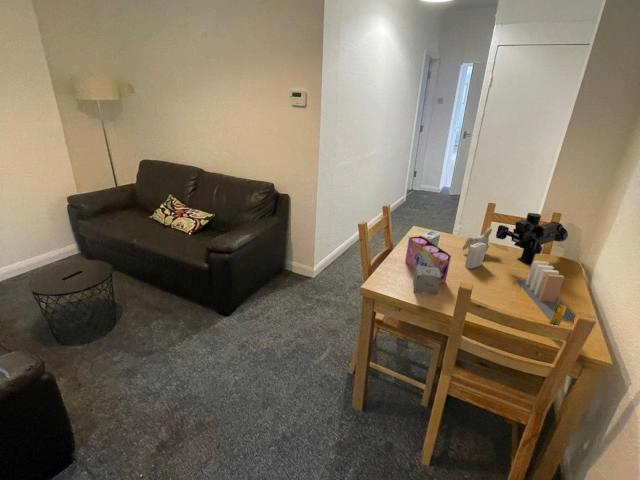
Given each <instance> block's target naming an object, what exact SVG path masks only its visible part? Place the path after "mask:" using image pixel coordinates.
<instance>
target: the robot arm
mask: <svg viewBox="0 0 640 480" xmlns="http://www.w3.org/2000/svg"><path fill="white" fill-rule="evenodd" d="M541 218H542V215H541V214H540V213H534V212H533V213H532V212H528V213H527V215H526V218H525V219H522V218H520V219H519V220H517V221H516V222H515V228H513V229H512V231H511V230H509V229H510V227H509V226H506V225H503V224H501V225H498V227H497V230H496V234H495V238H496V239H498V240H499V239H500V240H505V239H506V238H507V236H508V237H510V238H511V242H514V246H515V247H518V248H520V249H522V252H521V256H520V257H518V258H517V260H518V261H520V262H522V263H526V265H532V262H533V261H536V260H535V256H536V255H537V254H538V255H540V254H541V253H542V251H543V247H542V245H545V244H548V243H551V242H559V243H560V242H564V241H566V240H567V239H568V237H569V233H568V230H567V229H566V228H565V227H564V226H563V224H562V223H560V222H557V221H551V222H548V223H544V224H540V221H541Z"/></svg>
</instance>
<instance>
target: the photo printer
mask: <svg viewBox="0 0 640 480" xmlns="http://www.w3.org/2000/svg"><path fill="white" fill-rule="evenodd" d="M486 248H487V246H486V244H484V243H476V244H474V245H472V244H471V245H470V248H469V250H468V252H467V255H466V260H465V264H464V266H465V268H467V269H469V270H470V269H474V268H477V267H481V266H482V264H483V261H484V259H485V258H484V257H485V254H486V253H485V251H486ZM486 252H487V251H486Z"/></svg>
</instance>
